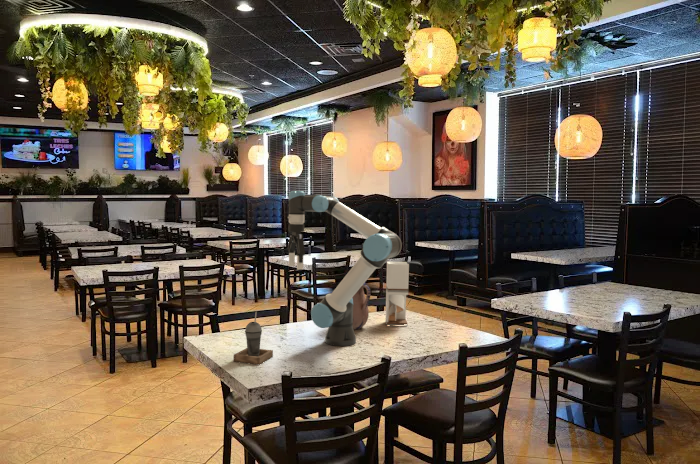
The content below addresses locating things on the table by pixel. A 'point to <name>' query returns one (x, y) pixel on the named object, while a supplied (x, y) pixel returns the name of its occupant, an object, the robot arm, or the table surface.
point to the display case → (396, 292)
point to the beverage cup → (253, 338)
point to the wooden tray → (244, 357)
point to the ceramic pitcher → (360, 307)
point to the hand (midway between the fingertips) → (295, 267)
